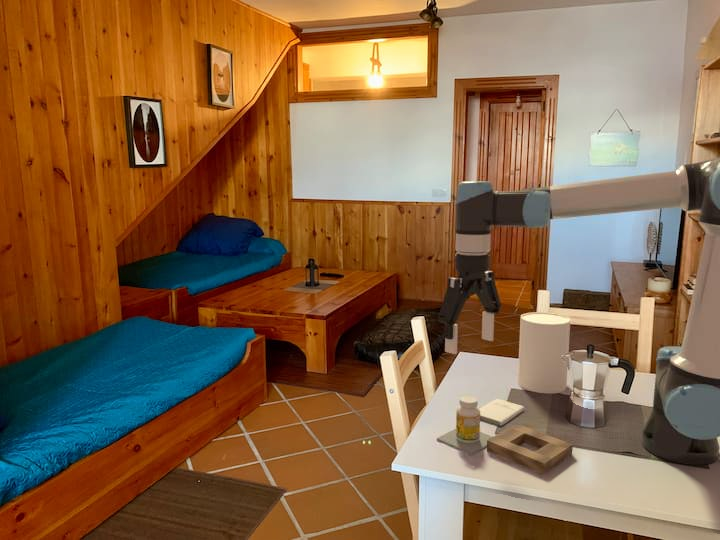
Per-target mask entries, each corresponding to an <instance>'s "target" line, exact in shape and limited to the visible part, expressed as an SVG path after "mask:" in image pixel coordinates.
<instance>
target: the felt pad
mask: <svg viewBox="0 0 720 540" xmlns="http://www.w3.org/2000/svg"><path fill="white" fill-rule="evenodd" d="M492 437H493V435H492V436H491V435H489V434H487V433H485V432H481V431H480V437H479V440H478V441H477V442H475V443H463V442H461V441H459V440H458V439H457V438H456V428H454V429H452V430H451V431H448V432H447V433H444V434H442V435H440V436H438V437H437V438H436V440H437V441H438V442H441V443H443V444H445V445H448V446H450V447H452V448H454V449H457V450H459V451H461V452H464V453H466V454H469V456H470V455H471V456H473V455H476V454H477V453H478V452H481V451H482V450H484V449H485V448H486V449H487V440H488V439H490V438H492Z"/></svg>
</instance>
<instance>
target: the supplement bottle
mask: <svg viewBox="0 0 720 540" xmlns="http://www.w3.org/2000/svg"><path fill="white" fill-rule="evenodd" d="M478 404H479V403H478V399H477V398H476V397H475V396H468V395H466V396H461V397H460V398H459V406H457V408H456V422H455V423H456V424H455V425H456V427H455V429H456V438H457V439H458V440H459V441H461V442H463V443H475V442H477V441H478V440H479V437H480V432H481V420H480V410H479V409H480V408H479V407H478Z"/></svg>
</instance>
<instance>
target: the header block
mask: <svg viewBox="0 0 720 540" xmlns="http://www.w3.org/2000/svg"><path fill="white" fill-rule="evenodd" d="M523 444H524V445H527V446H530V447H533V448H536V449H537V450H535V451H533V450H531V449H528V448H526V447H523V446H522V445H523ZM573 445H574V444H573V443H570V442H568V441H565V440H562V439H559V438H557V437H553V436H550V435H548V434H545V433H542V432H540V431H537V430H535V429H532V428H529V427H526V426H523V425H520V424H517V423H515V424H513V425H511V426H510V427H508V428H507V429H504V430H503V431H501V432H499V433H498V434H496V435H494V436H492V438H490V439H488V440H487V447H486V452H488V453H491V454H494V455H496V456H498V457H501V458H503V459H504V460H505V459H506V460H508V461H509V462H512V463H514V464H518V465H520V466H522V467H524V468H527V469H529V470H532V471H534V472H536V473H538V474H541V475H546V474H547V473H549V472H550V471H551V470H553V469H554V468H556V467H557V466H559V465H560V464H562V463H563V462H564V461H565V460H567V459H568V458H570V457H571V456H572V455H573V449H574V448H573Z"/></svg>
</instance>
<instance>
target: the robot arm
mask: <svg viewBox="0 0 720 540" xmlns="http://www.w3.org/2000/svg"><path fill="white" fill-rule="evenodd" d="M456 189H457V190H456V199H455V200H456V201H455V247H454V249H455V251H456V252H455V254H454V269H455V270H456V271H457V272H458V275H457V277H448V279H447V285H446V286H447V288H446V291H445V294H444V297H443V301H442V304H441V307H440V310H439V313H438V316H437V322H439V323H442V324H444V329H443V330H444V334H443V335H444V340H445V341H444V352H446V353H448V354H452V355H457V354H458V329H459V328H458V327H459V325H458V323H457V320H458V318H459V315H460V314H461V312H462V310H463V308H464V306H465V304H466V302H467V300H468V299H470V298H471V296H474V295H476V296H477V298H478V300H479V302H480V304H481V305H482V307H483V309H484V310H485V311H482V314H481V315H482V319H481V320H482V321H481V339H482V340H484V341H489V342H493V341H494V332H495V331H494V330H495V316H496V315H495V313H496V314H499V313H500V309H501V307H502V303H501V300H500V296H499V293H498V289H497V285H496V282H495V271H492V270H490V269H491V268H490V265H491V264H490V262H491V261H490V260H491V255H490V254H489V252H491V241H492V239H491V235H492V233H491V229H492V227H514V228H529V229H533V228H546V227H547V226H549V224H550V220H557V219H569V218H580V217H588V216H600V215H609V214H620V213H629V212H630V213H631V212H641V211H650V210H652V211H653V210H661V209H672V208H673V209H674V208H679V209H681V210H682V211H684V212H689V211H690V212H691V211H700V212H699V213H700V214H699V219H698V224H699V226H701V228H702V229H703V230H704V233H705V235H704V241H703V245H702V249H701V253H700V258H699V259H700V260H699V262H698V263H699V264H698V269H697V273H696V276H695V277H696V278H695V281H694V287H693V292H692V297H691V301H690V306H689V312H688V317H687V321H686V326H685V329H684V330H685V331H684V335H683V341H682V344H681V346H674V345H673V346H672V345H671V346H663V347H660V348H659V349H658V351H657V356H656V358H655V361H656V368H655V369H656V370H655V379H654V390H653V400H652V401H653V403H652V411H651V413H650V415H649V416H648V419H647V421H646V423H645V425H644V427H643V429H642V431H641V440H640V441H641V445H642V446H643V447H644V448H645V449H646V450H647V451H648V452H650V453H651V454H653V455H655V456H657V457H660V458H661V459H665V460H667V461H672V462H674V463H679V464H685V465H691V466H692V465H693V466H694V465H697V466H699V465H700V466H702V465H709V464H713V463H715V462H716V461H718V459H719V458H720V457H719V456H720V443H719V441H718V438H719V437H720V156H719V157H715V158H712V159H708V160H703V161H700V162H699V161H698V162H694V163H689V164H681V165H680V166H679V167H678V168H677V169H676V170H671V171H664V172H656V173H646V174H640V175H639V174H638V175H637V174H636V175H631V176H622V177H614V178H613V177H612V178H606V179H598V180H590V181H582V182H581V181H580V182H575V183H574V182H573V183H567V184H558V185H557V184H556V185H550V186H540V187H528V188H522V189H520V190H494V188H493V183H492V182H491V181H480V180H479V181H476V180H475V181H472V180H470V181H461V182H459V183H458V184H457V188H456Z"/></svg>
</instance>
